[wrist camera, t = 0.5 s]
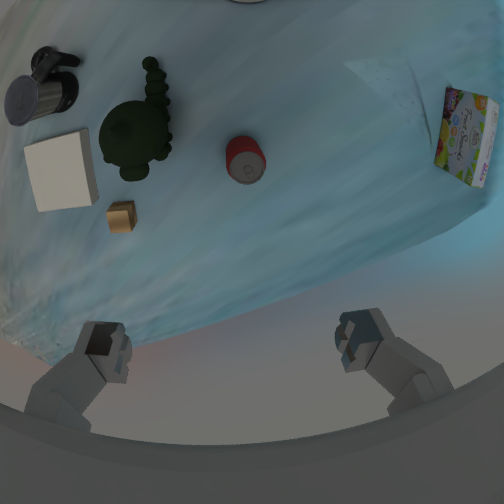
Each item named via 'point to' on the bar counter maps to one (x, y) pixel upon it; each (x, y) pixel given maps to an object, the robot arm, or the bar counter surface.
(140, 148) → the toy figurine
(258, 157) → the beer can
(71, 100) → the milk frother
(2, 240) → the bar counter surface
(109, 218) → the block
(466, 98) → the snack box
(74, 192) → the cream base
